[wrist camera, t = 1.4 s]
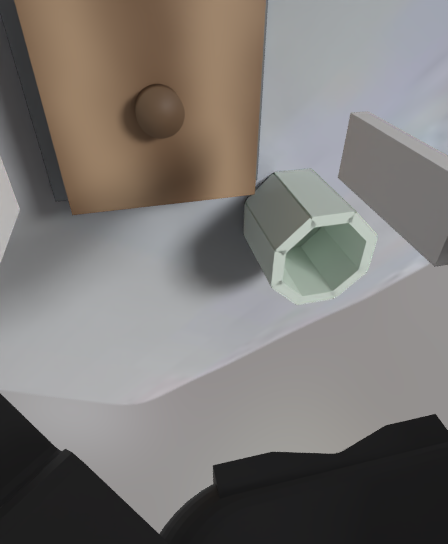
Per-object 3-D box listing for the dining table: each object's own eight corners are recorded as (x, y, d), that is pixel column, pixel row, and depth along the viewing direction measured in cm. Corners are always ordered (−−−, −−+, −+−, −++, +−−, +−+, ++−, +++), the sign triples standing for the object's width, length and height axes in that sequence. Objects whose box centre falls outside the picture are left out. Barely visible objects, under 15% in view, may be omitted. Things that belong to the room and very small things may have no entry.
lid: (75, 185, 25) (71, 224, 22) (22, -27, 19) (2, -26, 15) (237, 169, 28) (259, 201, 24) (242, -27, 21) (275, -26, 17)
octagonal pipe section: (242, 256, 33) (268, 310, 28) (245, 175, 29) (277, 221, 23) (322, 245, 35) (361, 294, 29) (337, 165, 30) (386, 207, 25)
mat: (56, 197, 26) (55, 201, 26) (-17, -55, 18) (-20, -55, 18) (254, 176, 29) (257, 180, 28) (267, -51, 21) (271, -51, 20)
